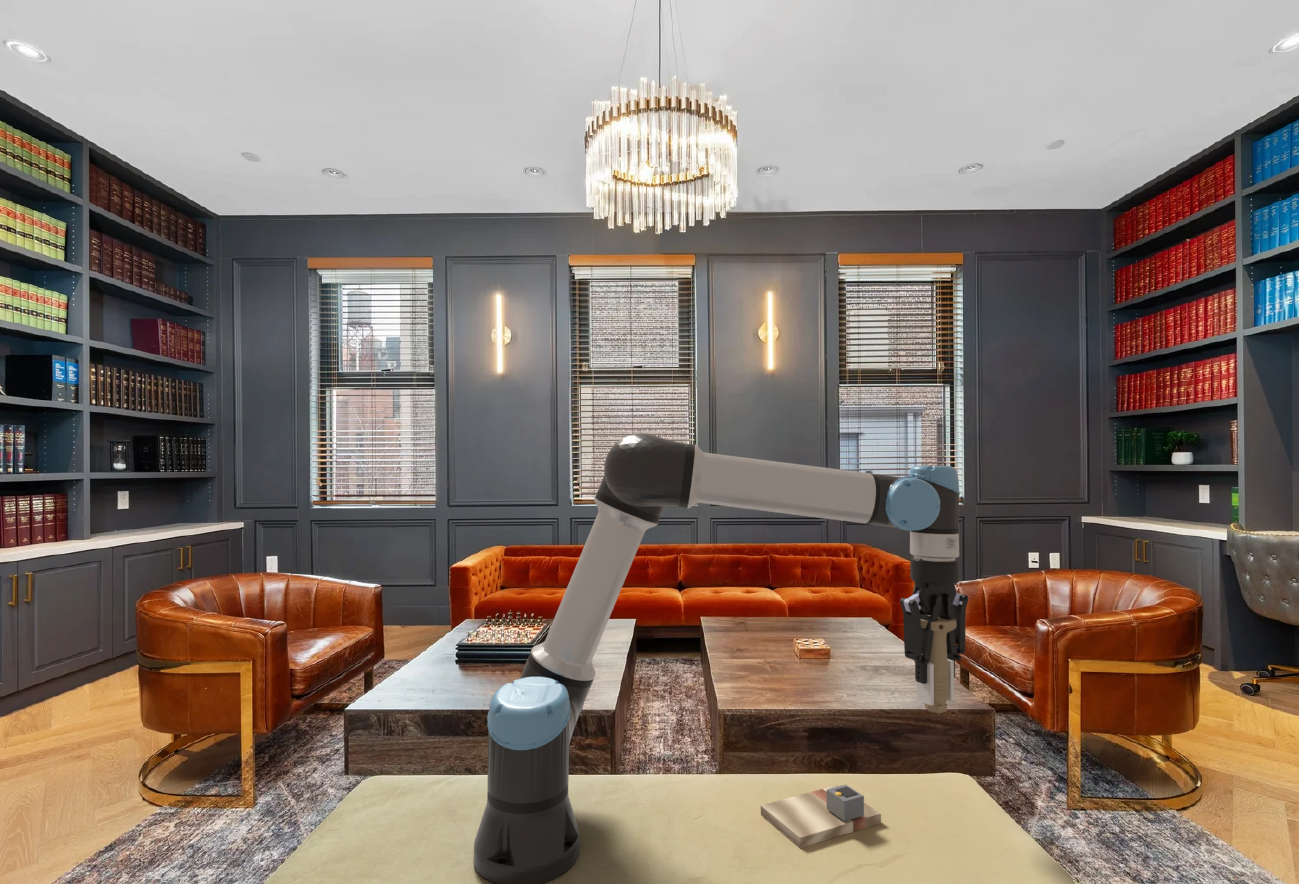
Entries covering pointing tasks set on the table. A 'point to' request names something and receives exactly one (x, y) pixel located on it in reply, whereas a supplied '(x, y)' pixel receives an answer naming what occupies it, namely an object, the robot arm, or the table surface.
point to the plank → (813, 818)
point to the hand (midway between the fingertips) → (935, 699)
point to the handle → (939, 662)
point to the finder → (845, 802)
